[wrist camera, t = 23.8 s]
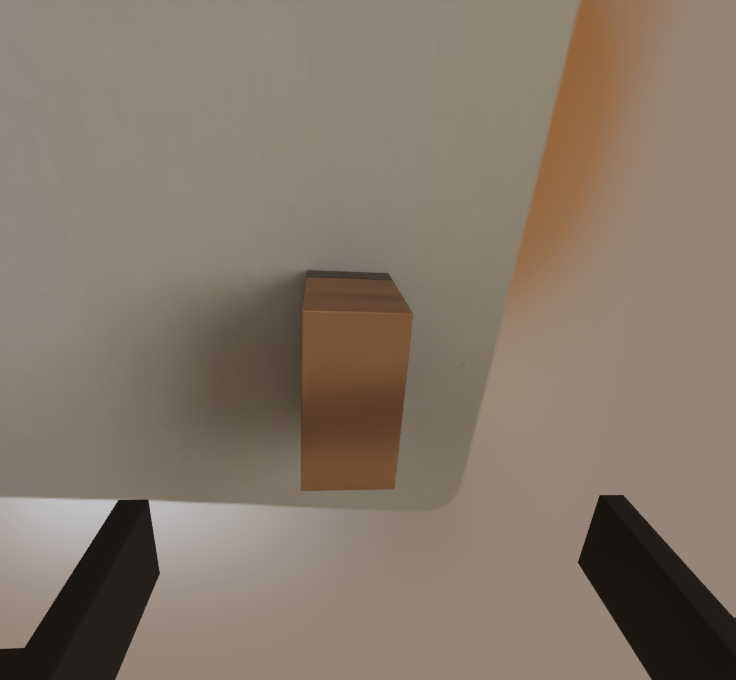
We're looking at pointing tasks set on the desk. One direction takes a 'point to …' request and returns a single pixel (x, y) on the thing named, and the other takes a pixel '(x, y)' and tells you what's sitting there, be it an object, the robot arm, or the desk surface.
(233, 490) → the desk surface
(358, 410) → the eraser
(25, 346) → the desk surface
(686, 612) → the robot arm
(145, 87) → the desk surface
